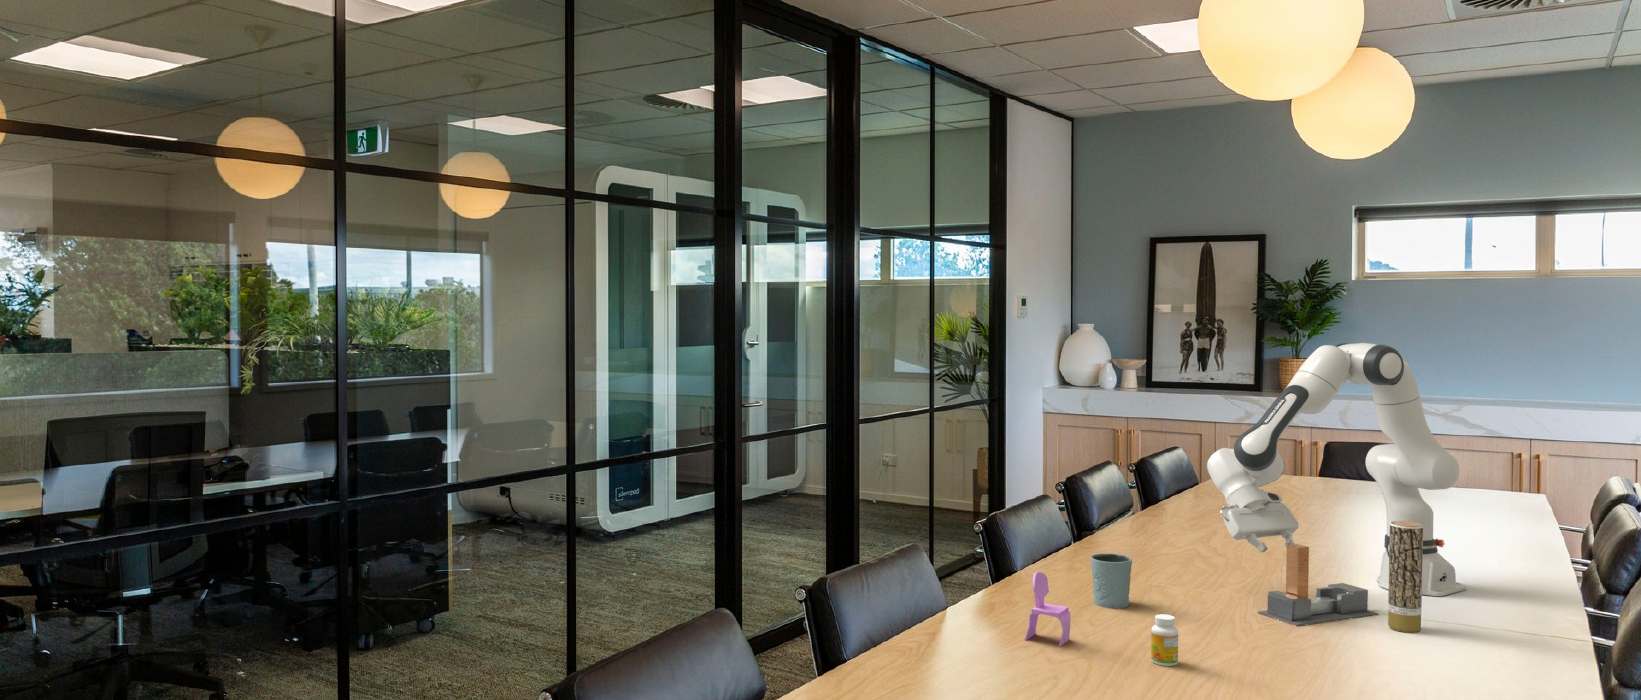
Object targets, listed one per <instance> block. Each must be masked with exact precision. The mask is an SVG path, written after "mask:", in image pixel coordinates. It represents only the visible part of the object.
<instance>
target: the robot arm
mask: <svg viewBox="0 0 1641 700" xmlns="http://www.w3.org/2000/svg"><path fill="white" fill-rule="evenodd" d="M1344 383H1349V384H1353V385H1369V386H1370V387H1371V392H1372V398H1373V404H1374V409H1375V414H1376V418H1377V422H1378V428H1379V429H1380V430H1381V432H1382V433H1384V435H1386V436H1387V437H1388V438H1390V439H1391V441H1392V442H1393V443H1386V444H1385V443H1383V444H1378V445H1375V446H1373V447H1371V448H1370V449H1369V450H1368V452H1367V454H1366V456H1365V467H1366V471H1367V473H1368V474H1369V475H1370V476H1371V478H1373V479H1374V480H1375V482H1376V483H1377V485H1378V487H1379V489H1380V491H1381V494H1382V496H1383V500H1384V503H1385V508H1386V509H1385V511H1386V534H1385V535H1384V539H1383V540H1384V541H1383V543H1384V544H1383V545H1384V548H1385V551H1383V553H1382V556H1381V565H1380V574H1379V576H1377V578H1376V581H1377V582H1378V586H1379V587H1382V588H1384V589H1386V590H1389V541H1390V522H1392V521H1406V522H1414V523H1419V524H1422V525H1423V555H1422V595H1425V596H1433V597H1444V596H1447V595H1451V594H1455V593H1459V592H1463V591H1466V590H1467V586H1466V585H1465V584H1462V583H1460V582H1457V578H1456V577H1457V576H1456V569H1455V567H1454V566H1453V565H1452V564H1451V562H1449V561H1448V560H1446V558H1444V557H1443V556H1442V555H1441V554H1440V553H1439V550H1438V547H1439V548H1444V546H1445V541H1444V540H1443V539H1439V538H1434V516H1435V515H1434V511H1433V509H1432V506H1430V505H1429V504H1428V503H1427V502H1426V501H1425V500H1424V499H1423V497H1422V496H1421V495H1422V494H1421V493H1420V490H1419V489H1421V490H1423V489H1424V490H1429V491H1434V490H1435V491H1436V490H1438V491H1439V490H1448V489H1450V488H1452V487H1453V486H1454V485H1455V484H1456V483H1457V481H1458V479H1459V477H1460V465H1459V463H1458V460H1457V459H1456V458H1455V456H1453V454H1451V453H1449V452H1448V451H1447V450H1445V449H1444V448H1443V447H1442V445H1441V444H1440V443H1439V442H1438V440H1437V439H1436V437H1435V436H1434V434H1433V433H1432V431H1431V429H1430V427H1429V425H1428V422H1427V420H1426V417H1425V412H1424V409H1423V404H1422V401H1421V400H1422V399H1421V396H1420V392H1419V387H1418V383H1417V381H1416V378H1415V376H1414V373H1413V371H1412V368H1411V366H1410V365H1409V364H1408V362H1407V361H1406V360H1404V359H1403V356H1402V355H1401V353H1400V352H1399V351H1398V350H1397V349H1395V348H1394V347H1392V346H1389V345H1386V344H1375V343H1369V342H1359V343H1339V344H1335V345H1329V344H1325V345H1321V346H1319V347H1318V348H1316V349H1315V350H1314V351H1313V352H1312V353H1311V354H1310V355H1309V356H1308V357H1307V358H1306V359H1305V361H1304V362H1303V363H1302V364H1301V366H1300V367H1299V368H1298V369H1297V371H1296V373H1295V374H1294V375H1293V377H1292V379H1291V380H1290V381H1289V383H1288V384H1287V386H1286V387H1285V388H1284V390H1283V391H1282V392H1281V393H1280V394H1279V395H1278V396H1277V398H1276V399H1274V401H1273V402H1272V403H1271V405H1270V406H1269V407H1268V409H1267V410H1266V411H1265V412H1264V414H1263V415H1262V416H1261V418H1260V419H1259V420H1258V421H1257V422H1256V423H1255V424H1254V425H1253V426H1251V427H1250V428H1249V429H1246V431H1244V432H1243V433H1241V434H1240V435H1239V436H1238V437H1237V439H1236V440H1235V443H1234V445H1233V448H1227V447H1222V448H1219V449H1217V450H1216V451H1215V452H1213V453H1212V454H1211V455H1210V457H1209V458H1208V460H1207V463H1206V469H1207V472H1208V474H1209V476H1210V478H1211V480H1212V483H1214V485H1215V487H1216V488H1217V490H1218V491H1219V492H1220V493H1222V495H1223V497H1224V500H1225V502H1226V504H1227V505H1224V506H1222V507H1221V509H1220V513H1219V514H1220V515H1221V516H1222V518H1223V522H1224V524H1225V527H1226V528H1227V531H1228V532H1229V534H1230V536H1231V537H1232V538H1233V539H1235V540H1236V541H1241V540H1246V541H1247V542H1248V543H1249V544H1251V545H1252V546H1253V547H1254V548H1256V550H1257V551H1258V552H1259V553H1264V552H1266V551H1267V550H1268V547H1267V545H1266V543H1265V542H1262V541H1260V540H1259V538H1268V537H1269V538H1270V537H1277V536H1281V537H1282V538H1283V539H1284V541H1285V543H1283V544H1284V546H1285V547H1286V548H1287V545H1293V544H1296V543H1295V541H1294V540H1293V539H1294V538H1293V534H1294V533H1295V532H1296V531H1297V530H1298V529H1299V522H1298V520H1297V518H1296V517H1295V516H1294V514H1293V512H1292V511H1291V510H1290V508H1289V507H1288V506H1287V505H1285V504H1284V503H1282V501H1283V498H1282V496H1281V495H1279V494H1278V493H1273V492H1269V491H1266V490H1263V489H1260V487H1263V486H1267V485H1269V484H1271V483H1274V482H1276V481H1277V480H1279V479H1280V478H1281V476H1282V475H1283V474H1284V472H1285V471H1284V469H1285V463H1284V460H1283V458H1282V456H1281V453H1280V451H1279V449H1278V445H1279V439H1280V437H1281V436H1282V435H1283V434H1284V432H1285V431H1286V430H1287V428H1288V427H1289V425H1290V424H1291V423H1292V422H1293V421H1294V419H1295V418H1296V417H1297V416H1299V415H1300V414H1304V415H1316V414H1319V413H1322V411H1324V410H1325V409H1326V408H1327V407H1328V406H1329V405H1330V404H1331V402H1332V401H1333V400H1334V398H1335V397H1336V395H1337V393H1338V392H1339V390H1340V389H1341V387H1342V385H1343V384H1344Z"/></svg>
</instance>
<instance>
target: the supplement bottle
mask: <svg viewBox="0 0 1641 700" xmlns="http://www.w3.org/2000/svg"><path fill="white" fill-rule="evenodd" d="M1154 617H1155V618H1154V623H1155V624H1154V625H1153V626H1152V627H1151V637H1150V638H1151V639H1150V640H1151V644H1150V660H1151V662H1152V663H1153V664H1155V665H1158V666H1162V667H1172V666H1173V667H1175V666H1176V665H1177V664H1178V662H1179V661H1178V660H1179V629H1178V628H1177V627H1176V626H1175V624H1176V617H1175V616H1173V615H1170V614H1165V613H1161V614H1156V615H1155V616H1154Z"/></svg>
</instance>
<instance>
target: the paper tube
mask: <svg viewBox="0 0 1641 700" xmlns="http://www.w3.org/2000/svg"><path fill="white" fill-rule="evenodd" d="M1422 555H1423V525H1422V524H1419V523H1414V522H1406V521H1392V522H1390V541H1389V589H1388V598H1387V599H1388V600H1387V601H1388V605H1387V611H1388V612H1387V614H1388V615H1387V625H1388V627H1389V628H1390V629H1392V630H1394V631H1397V632H1401V633H1411V634H1412V633H1418V632H1420V631H1421V629H1422V606H1423V605H1422V604H1423V603H1422V601H1423V600H1422V599H1423V598H1422V597H1423V596H1422Z"/></svg>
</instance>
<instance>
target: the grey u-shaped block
mask: <svg viewBox="0 0 1641 700" xmlns="http://www.w3.org/2000/svg"><path fill="white" fill-rule="evenodd" d="M1315 592H1316V593H1315V594H1316V595H1315V596H1316V597H1315V598H1318V597H1328V598H1332V599H1335V600H1337V614H1340V615H1345V614H1352V613H1359V612H1367V611H1368V609H1369V608H1368V607H1369V606H1368V604H1369V589H1367V588H1362V587H1359V586H1355V585H1352V584H1347V583H1344V582H1340V583H1333V584H1331V583H1330V584H1327V587H1317V588H1316V591H1315Z"/></svg>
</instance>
